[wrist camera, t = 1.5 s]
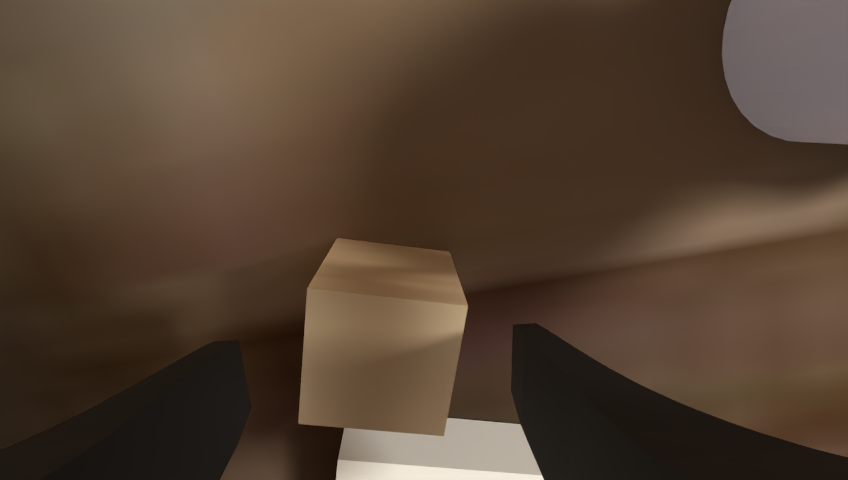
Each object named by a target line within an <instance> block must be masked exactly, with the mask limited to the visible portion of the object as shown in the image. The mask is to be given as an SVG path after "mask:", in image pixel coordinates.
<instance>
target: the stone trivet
mask: <svg viewBox="0 0 848 480" xmlns="http://www.w3.org/2000/svg"><path fill="white" fill-rule="evenodd" d="M336 480H544V479H543V476H542V474H541V472H540V469H539V467H538V465H537V462H536V460H535V458H534V455H533V453H532V451H531V448H530V446H529V444H528V441H527V439H526V436H525V434H524V432H523V429H522V427H521V424H512V423H501V422H489V421H478V420H466V419H455V418H447V422H446V427H445V433H444V436H435V435H423V434H411V433H400V432H388V431H376V430H364V429H352V428H344V432H343V437H342V442H341V447H340V452H339V457H338V464H337V473H336Z"/></svg>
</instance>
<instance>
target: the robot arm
mask: <svg viewBox="0 0 848 480" xmlns="http://www.w3.org/2000/svg"><path fill="white" fill-rule="evenodd" d="M722 60H723V68H724V76H725V80H726V83H727V86H728V89H729V92H730V95H731V97H732V99H733V100H734V102H735V104H736V105H737V107H738V109H739V110H740V112H741V113H742V114H743V115H744V116H745V117H746V118H747V119H748V120H749V121H750V122H751V123H752V124H753V125H754V126H755V127H756V128H758V129H760V130H761V131H763V132H765V133H767V134H768V135H770V136H773V137H776V138H780V139H783V140H786V141H795V142H810V143H830V144H848V0H732V1H731V3H730V6H729V9H728V13H727V18H726V22H725V26H724V31H723V45H722ZM511 392H512V395H513V399H514V403H515V407H516V410H517V414H518V417H519V420H520V424H521V427H522V429H523V432H524V434H525V436H526V439H527V441H528V444H529V446H530V448H531V451H532V453H533V455H534V458H535V460H536V462H537V465H538V467H539V469H540V472H541V474H542V476H543V479H544V480H848V458H847V457H844V456H840V455H836V454H832V453H828V452H824V451H820V450H816V449H812V448H809V447H805V446H802V445H798V444H795V443H792V442H789V441H785V440H782V439H779V438H775V437H772V436H769V435H766V434H762V433H759V432H756V431H753V430H750V429H747V428H744V427H741V426H739V425H736V424H733V423H730V422H727V421H725V420H722V419H719V418H717V417H714V416H711V415H709V414H706V413H703V412H701V411H698V410H696V409H693V408H691V407H688V406H686V405H683V404H681V403H679V402H676V401H674V400H672V399H670V398H667V397H665V396H663V395H661V394H659V393H657V392H654V391H652V390H650V389H648V388H646V387H644V386H642V385H640V384H638V383H636V382H634V381H632V380H630V379H628V378H626V377H624V376H623V375H621V374H619V373H617V372H615V371H613V370H612V369H610V368H608V367H606V366H605V365H603V364H601V363H599V362H598V361H596V360H594V359H593V358H591V357H589V356H588V355H586V354H584V353H583V352H581V351H580V350H578V349H576V348H575V347H573V346H572V345H570V344H569V343H567V342H565V341H564V340H562V339H561V338H559V337H558V336H556V335H555V334H553V333H551V332H550V331H548V330H547V329H545V328H543V327H542V326H540V325H538V324H536V323H534V324H516V325H513V342H512V380H511ZM250 408H251V404H250V399H249V394H248V388H247V383H246V378H245V373H244V367H243V362H242V357H241V352H240V346H239V341H238V340H234V341H216V342H213V343H210V344H208V345H206V346H204V347H202V348H200V349H198V350H196V351H194V352H192V353H190V354H189V355H187V356H185V357H183V358H181V359H180V360H178V361H176V362H174V363H173V364H171V365H169V366H167V367H166V368H164V369H162V370H160V371H159V372H157V373H155V374H153V375H152V376H150V377H148V378H146V379H145V380H143V381H141V382H139V383H137V384H136V385H134V386H132V387H130V388H128V389H126V390H125V391H123V392H121V393H119V394H117V395H115V396H113V397H111V398H110V399H108V400H106V401H104V402H102V403H100V404H98V405H97V406H95V407H93V408H91V409H89V410H87V411H85V412H83V413H81V414H79V415H77V416H75V417H73V418H71V419H69V420H67V421H65V422H63V423H61V424H59V425H56V426H54V427H52V428H50V429H48V430H46V431H43V432H41V433H39V434H37V435H35V436H32V437H30V438H28V439H26V440H24V441H21V442H19V443H17V444H14V445H12V446H10V447H7V448H5V449H2V450H0V480H220V478H221V476H222V474H223V472H224V470H225V468H226V466H227V464H228V462H229V460H230V458H231V456H232V454H233V452H234V450H235V448H236V446H237V444H238V442H239V439H240V437H241V434H242V431H243V429H244V426H245V423H246V420H247V417H248V414H249V411H250Z"/></svg>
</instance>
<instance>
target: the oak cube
mask: <svg viewBox="0 0 848 480" xmlns="http://www.w3.org/2000/svg"><path fill="white" fill-rule="evenodd" d="M467 309H468V304H467V301H466V298H465V295H464V292H463V289H462V286H461V284H460V281H459V278H458V275H457V272H456V269H455V266H454V263H453V260H452V257H451V254H450V252H448V251H440V250H432V249H424V248H415V247H407V246H399V245H391V244H383V243H374V242H366V241H358V240H350V239H341V238H337V239H336V241H335V242H334V244H333V246H332V247H331V249H330V251H329V252H328V254H327V256H326V258H325V259H324V261H323V263H322V264H321V266H320V268H319V269H318V271H317V273H316V274H315V276H314V278H313V279H312V281H311V283H310V284H309V286H308V288H307V299H306V314H305V329H304V345H303V360H302V375H301V390H300V405H299V421H298V424H305V425H317V426H329V427H340V428H352V429H364V430H376V431H388V432H400V433H411V434H423V435H435V436H444V433H445V427H446V422H447V416H448V411H449V406H450V400H451V395H452V390H453V384H454V379H455V374H456V368H457V363H458V358H459V352H460V347H461V341H462V336H463V331H464V325H465V320H466V315H467Z"/></svg>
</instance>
